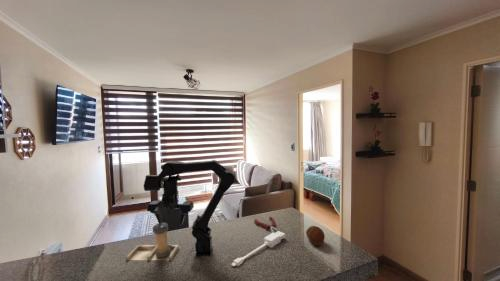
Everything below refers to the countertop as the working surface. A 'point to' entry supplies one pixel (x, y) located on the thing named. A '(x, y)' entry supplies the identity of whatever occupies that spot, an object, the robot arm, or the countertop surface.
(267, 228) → the pliers
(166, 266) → the countertop surface
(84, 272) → the countertop surface
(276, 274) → the countertop surface
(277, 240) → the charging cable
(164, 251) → the bobbin
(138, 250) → the divided tray
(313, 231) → the potato
